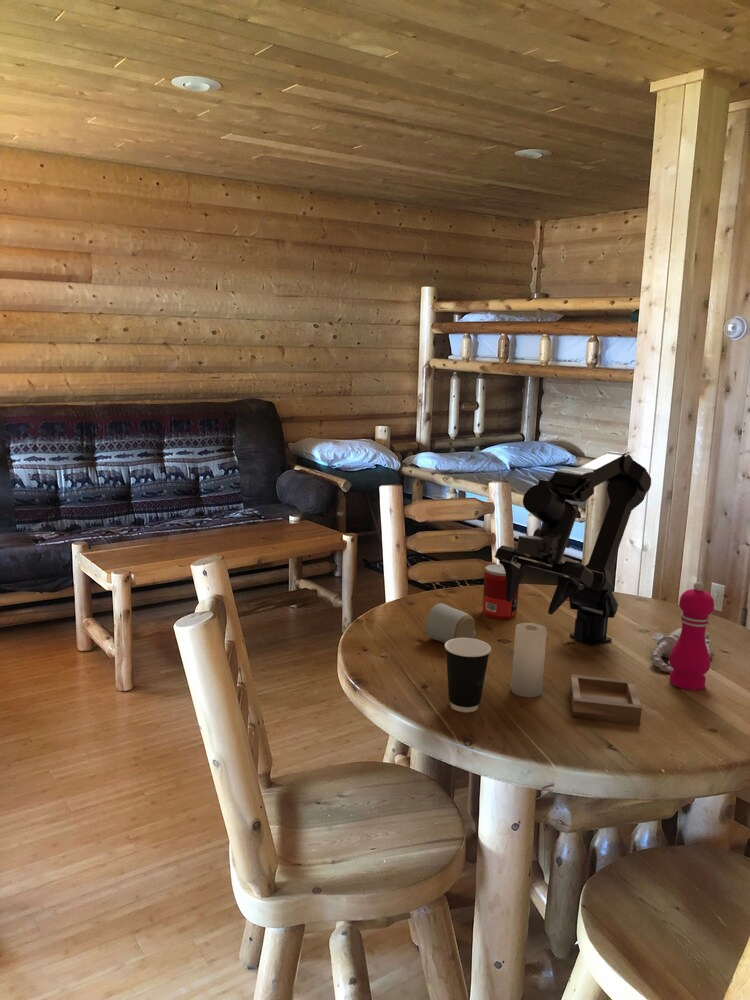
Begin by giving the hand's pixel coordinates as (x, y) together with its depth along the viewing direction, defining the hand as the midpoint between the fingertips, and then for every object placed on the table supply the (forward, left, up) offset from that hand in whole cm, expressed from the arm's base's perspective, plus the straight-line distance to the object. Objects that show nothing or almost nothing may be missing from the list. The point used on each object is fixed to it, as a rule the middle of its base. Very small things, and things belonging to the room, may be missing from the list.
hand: (528, 607), depth 150 cm
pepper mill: (-25, +18, -13) cm, 33 cm away
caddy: (-3, +18, -13) cm, 22 cm away
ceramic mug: (+3, -19, -13) cm, 24 cm away
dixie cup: (+19, +7, -13) cm, 24 cm away
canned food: (-17, -28, -13) cm, 36 cm away
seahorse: (-34, +9, -13) cm, 38 cm away
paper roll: (+5, +7, -13) cm, 15 cm away
